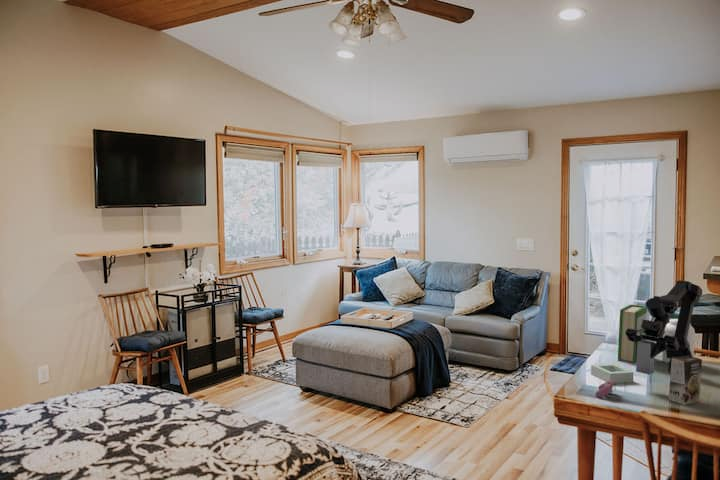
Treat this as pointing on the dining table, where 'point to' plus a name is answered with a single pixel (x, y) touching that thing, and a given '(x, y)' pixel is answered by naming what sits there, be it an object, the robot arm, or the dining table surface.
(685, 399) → the coffee box
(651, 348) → the gray rectangular block
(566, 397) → the dining table surface
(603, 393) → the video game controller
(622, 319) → the hardback book
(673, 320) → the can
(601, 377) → the well block
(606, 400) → the dining table surface
